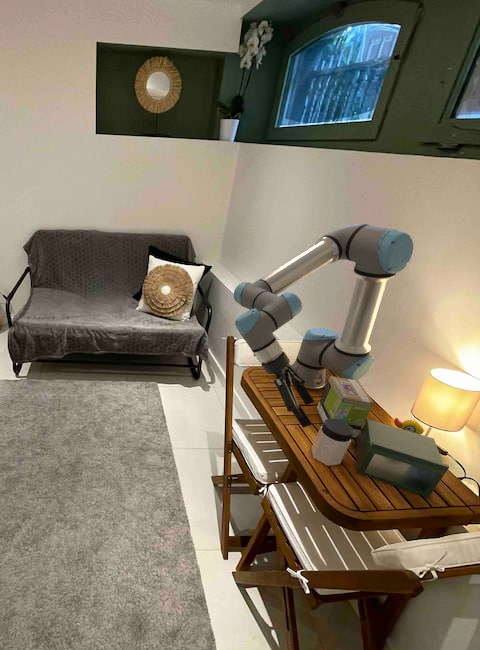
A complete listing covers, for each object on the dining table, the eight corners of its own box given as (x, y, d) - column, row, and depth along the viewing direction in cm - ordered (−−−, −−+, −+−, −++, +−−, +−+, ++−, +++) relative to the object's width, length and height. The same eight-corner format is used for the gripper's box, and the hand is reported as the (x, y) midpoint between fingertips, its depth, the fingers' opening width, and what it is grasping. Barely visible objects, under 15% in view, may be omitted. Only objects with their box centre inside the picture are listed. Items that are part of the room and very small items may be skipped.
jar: (305, 454, 119) (318, 424, 113) (316, 443, 124) (329, 414, 118) (334, 470, 113) (349, 440, 107) (344, 458, 118) (359, 429, 112)
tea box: (357, 438, 128) (375, 403, 120) (326, 433, 129) (342, 397, 122) (343, 413, 140) (359, 379, 133) (315, 408, 142) (329, 374, 134)
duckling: (382, 441, 127) (395, 418, 122) (385, 434, 131) (398, 411, 126) (422, 459, 121) (437, 435, 116) (424, 451, 124) (439, 427, 119)
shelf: (355, 442, 125) (369, 414, 120) (418, 463, 119) (436, 434, 113) (357, 473, 113) (373, 443, 107) (428, 497, 106) (449, 467, 101)
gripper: (266, 347, 125) (300, 398, 127) (253, 380, 105) (293, 440, 107) (287, 336, 120) (322, 390, 122) (278, 369, 101) (319, 432, 103)
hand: (308, 413), depth 115 cm, fingers open, 13 cm apart
